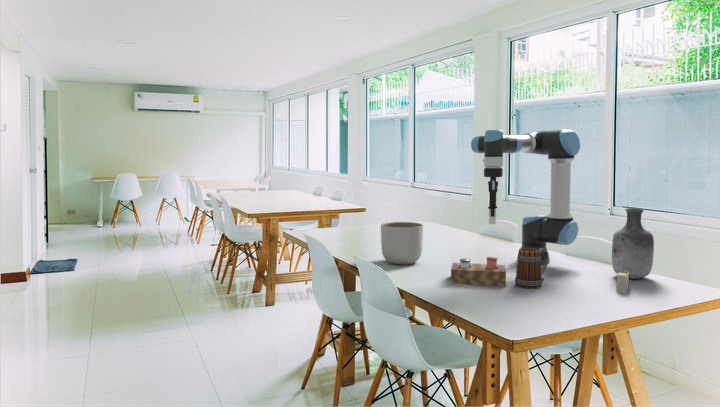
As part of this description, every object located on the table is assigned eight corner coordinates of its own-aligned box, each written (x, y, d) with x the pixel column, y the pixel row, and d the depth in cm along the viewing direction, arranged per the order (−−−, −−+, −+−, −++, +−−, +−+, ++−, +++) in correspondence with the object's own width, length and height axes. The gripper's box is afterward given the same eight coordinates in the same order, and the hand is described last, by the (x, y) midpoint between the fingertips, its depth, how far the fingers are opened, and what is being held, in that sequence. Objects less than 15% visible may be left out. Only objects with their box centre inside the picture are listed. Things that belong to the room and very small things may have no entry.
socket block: (504, 278, 228) (504, 264, 227) (505, 286, 214) (506, 271, 214) (452, 276, 233) (452, 262, 232) (450, 283, 219) (451, 269, 218)
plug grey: (470, 279, 226) (470, 258, 225) (469, 281, 222) (470, 260, 221) (459, 279, 227) (460, 258, 226) (459, 281, 223) (459, 260, 222)
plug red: (496, 277, 224) (497, 257, 223) (497, 280, 219) (497, 259, 219) (486, 277, 225) (486, 256, 224) (486, 279, 220) (486, 258, 220)
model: (616, 292, 206) (617, 273, 205) (619, 287, 215) (620, 268, 214) (625, 294, 204) (626, 274, 204) (628, 288, 213) (629, 269, 213)
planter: (374, 265, 256) (374, 226, 254) (388, 257, 275) (388, 221, 273) (416, 268, 248) (416, 228, 246) (427, 260, 267) (427, 223, 266)
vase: (618, 271, 241) (621, 206, 238) (657, 277, 229) (660, 208, 227) (605, 277, 230) (607, 208, 227) (644, 283, 218) (648, 211, 215)
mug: (528, 290, 208) (529, 252, 207) (509, 284, 218) (510, 248, 216) (556, 285, 216) (557, 249, 214) (537, 280, 225) (538, 245, 223)
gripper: (483, 167, 225) (482, 221, 228) (484, 167, 213) (483, 225, 215) (501, 167, 224) (500, 222, 226) (503, 167, 211) (502, 226, 213)
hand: (492, 223), depth 221 cm, fingers closed
